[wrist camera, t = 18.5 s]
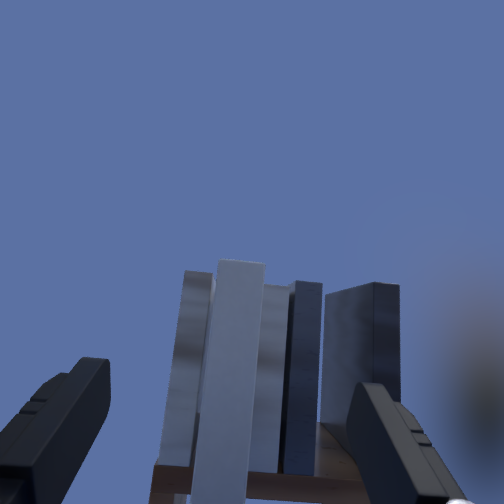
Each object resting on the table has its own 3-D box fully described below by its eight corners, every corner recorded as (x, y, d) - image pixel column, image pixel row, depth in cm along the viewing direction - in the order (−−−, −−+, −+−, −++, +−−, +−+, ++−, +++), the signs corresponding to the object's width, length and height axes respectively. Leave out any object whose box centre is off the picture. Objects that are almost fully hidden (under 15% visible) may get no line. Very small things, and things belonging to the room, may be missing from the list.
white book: (239, 568, 12) (265, 262, 15) (182, 565, 12) (219, 257, 15) (233, 414, 32) (244, 295, 34) (211, 413, 31) (224, 293, 34)
